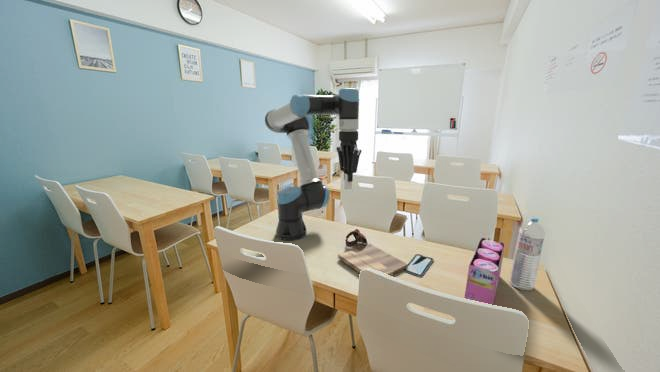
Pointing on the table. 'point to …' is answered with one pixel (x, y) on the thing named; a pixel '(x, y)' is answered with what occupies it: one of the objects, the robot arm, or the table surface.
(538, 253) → the water bottle
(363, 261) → the plank
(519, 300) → the table surface
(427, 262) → the smartphone
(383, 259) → the floor boards
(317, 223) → the table surface
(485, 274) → the gum box
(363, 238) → the pottery mug
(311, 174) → the robot arm
